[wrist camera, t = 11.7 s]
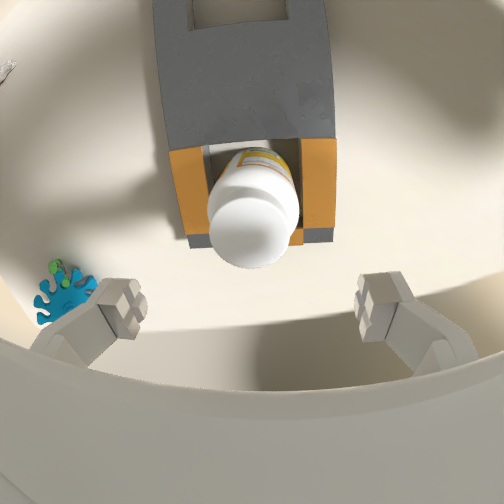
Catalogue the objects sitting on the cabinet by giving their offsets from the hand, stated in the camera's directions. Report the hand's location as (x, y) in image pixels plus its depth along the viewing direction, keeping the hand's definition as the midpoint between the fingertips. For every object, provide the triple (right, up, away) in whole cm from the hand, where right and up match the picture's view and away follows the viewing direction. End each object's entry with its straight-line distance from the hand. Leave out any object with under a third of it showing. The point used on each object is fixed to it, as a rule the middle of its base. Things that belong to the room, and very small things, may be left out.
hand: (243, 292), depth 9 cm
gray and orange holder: (0, +14, +8) cm, 16 cm away
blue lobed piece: (-21, -3, +20) cm, 30 cm away
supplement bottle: (+1, +7, +12) cm, 14 cm away
